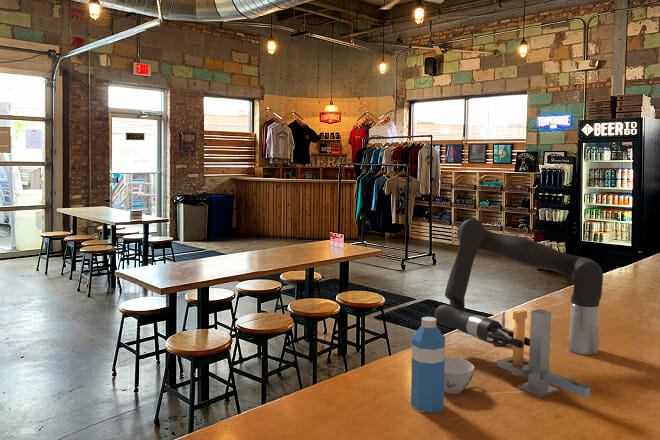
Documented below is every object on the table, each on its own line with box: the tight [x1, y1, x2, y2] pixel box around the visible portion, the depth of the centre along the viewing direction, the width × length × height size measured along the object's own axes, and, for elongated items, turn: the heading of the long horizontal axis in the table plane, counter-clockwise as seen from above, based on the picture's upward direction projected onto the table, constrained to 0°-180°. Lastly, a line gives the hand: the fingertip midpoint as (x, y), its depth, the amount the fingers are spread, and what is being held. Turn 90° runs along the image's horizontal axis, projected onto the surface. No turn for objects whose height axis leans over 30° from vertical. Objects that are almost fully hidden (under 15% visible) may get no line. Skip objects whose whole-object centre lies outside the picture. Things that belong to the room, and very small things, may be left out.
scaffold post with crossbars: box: [496, 308, 592, 398], centre depth 162 cm, size 28×9×24 cm, turn 31°
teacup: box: [444, 356, 475, 395], centre depth 166 cm, size 15×12×8 cm
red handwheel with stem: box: [493, 311, 513, 348], centre depth 207 cm, size 8×13×9 cm
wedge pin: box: [511, 309, 528, 377], centre depth 170 cm, size 4×3×20 cm
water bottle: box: [410, 316, 446, 414], centre depth 153 cm, size 9×9×25 cm
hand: (526, 343), depth 168 cm, fingers closed on wedge pin, 3 cm apart
